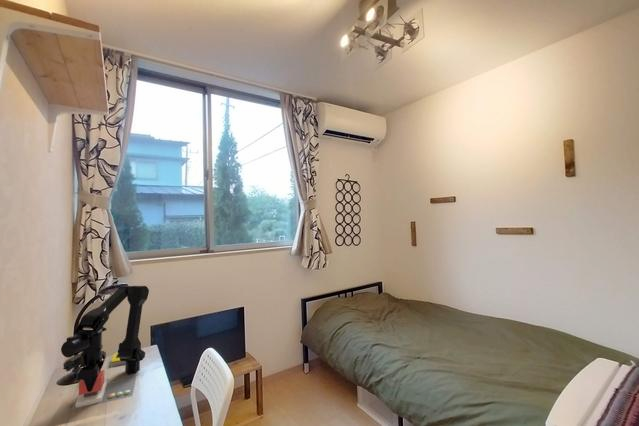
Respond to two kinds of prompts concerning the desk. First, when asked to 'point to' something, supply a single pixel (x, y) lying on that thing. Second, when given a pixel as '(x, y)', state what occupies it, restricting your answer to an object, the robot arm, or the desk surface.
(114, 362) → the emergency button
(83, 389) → the red block
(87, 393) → the grey cube
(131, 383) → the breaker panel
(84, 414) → the desk surface
